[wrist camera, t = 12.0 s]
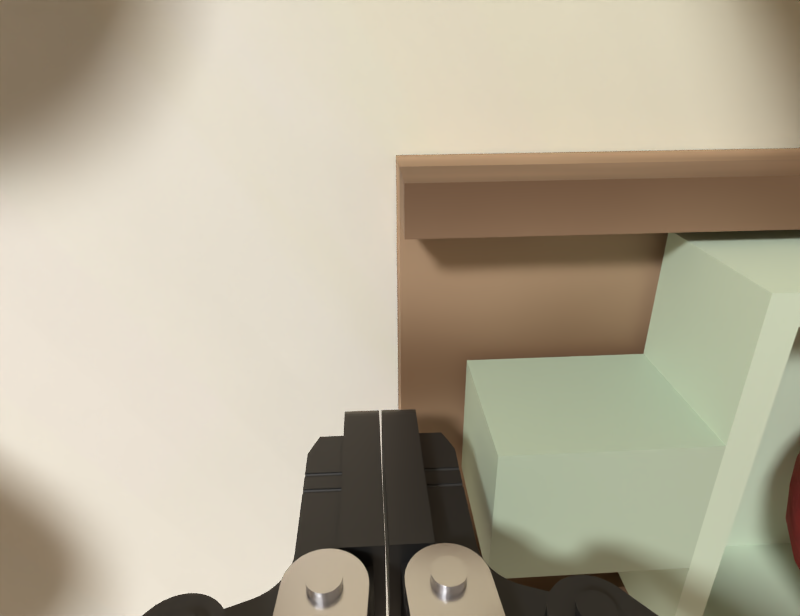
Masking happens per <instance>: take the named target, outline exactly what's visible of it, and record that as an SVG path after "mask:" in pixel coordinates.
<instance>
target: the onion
mask: <svg viewBox="0 0 800 616" xmlns="http://www.w3.org/2000/svg"><path fill="white" fill-rule="evenodd" d="M786 523H787V528H788V532H789V537H790V542H791V547H792V551H793V556H794V560H795V562H796V564H797V566H798V568H799V570H800V452H799V454H798V455H797V458H796V461H795V465H794V469H793V473H792V477H791V481H790V486H789V494H788V502H787V510H786Z"/></svg>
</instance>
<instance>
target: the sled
mask: <svg viewBox="0 0 800 616" xmlns="http://www.w3.org/2000/svg"><path fill="white" fill-rule="evenodd" d="M799 452H800V230H760V231H721V232H681V233H668V237H667V241H666V246H665V251H664V256H663V261H662V266H661V271H660V275H659V280H658V285H657V290H656V295H655V300H654V305H653V310H652V314H651V319H650V324H649V329H648V334H647V339H646V344H645V349H644V353H643V354H625V355H598V356H571V357H543V358H516V359H489V360H467V367H466V387H465V406H464V426H463V446H462V465H461V467H462V471H463V475H464V480H465V484H466V488H467V493H468V497H469V501H470V506H471V510H472V514H473V519H474V523H475V527H476V532H477V536H478V540H479V544H480V549H481V553H482V557H483V559H484V561H485V562H486V563H487V564H488V566H489V567H490V568H491V569H492V570H494V571H495V572H496V573H498V574H499V575H501V576H502V577H504V578H523V577H541V576H559V575H576V574H594V573H612V572H618V573H619V575H620V577H621V580H622V582H623V584H624V586H625V588H626V590H627V592H628V594H629V595H630V596H631V597H633V598H634V599H636V600H637V601H638V602H640V603H641V604H643V605H644V606H646V607H647V608H648V609H650V610H651V611H653V612H654V613H655V614H657V615H658V616H800V570H799V568H798V566H797V564H796V562H795V560H794V556H793V551H792V547H791V542H790V537H789V532H788V528H787V523H786V510H787V502H788V494H789V486H790V481H791V477H792V473H793V469H794V465H795V461H796V458H797V455H798V454H799Z"/></svg>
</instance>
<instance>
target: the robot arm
mask: <svg viewBox="0 0 800 616" xmlns="http://www.w3.org/2000/svg"><path fill="white" fill-rule="evenodd" d="M382 474H383V490H382ZM383 502H384V511H383ZM384 523H385V533H384ZM385 545H386V566H387V587H388V608H389V616H658V615H657V614H655V613H654V612H653V611H651V610H650V609H648V608H647V607H646V606H644V605H643V604H641V603H640V602H638V601H637V600H636V599H634V598H633V597H631V596H630V595H629V594H627V593H626V592H624V591H623V590H622V589H620V588H619V587H617V586H616V585H614V584H612V583H610V582H608V581H606V580H604V579H601V578H598V577H594V576H589V575H573V576H569V577H566V578H564V579H562V580H560V581H559V582H557V583H556V584H555V585H554V586H553V587H552V589H551V590H550V592H549V591H545V590H541V589H537V588H533V587H529V586H525V585H521V584H518V583H515V582H512V581H510V580H508V579H506V578H504V577H502V576H501V575H499V574H498V573H496V572H495V571H494V570H492V569H491V568H490V567H489V566H488V564H487V563H486V562H485V561H484V559H483V558H482V556H481V554H480V552H479V550H478V547H477V544H476V539H475V535H474V531H473V526H472V522H471V517H470V513H469V509H468V504H467V500H466V495H465V491H464V487H463V482H462V478H461V473H460V471H459V465H458V460H457V456H456V452H455V448H454V447H453V446H452V444H451V443H450V442H449V441H448V440H447V439H446V437H445V436H444V435H443V434H442V433H441V432H435V433H419V429H418V422H417V416H416V410H415V409H405V410H382V468H381V446H380V424H379V411H352V412H345V421H344V436H331V437H320V438H319V439H318V441H317V442H316V443H315V445H314V446H313V447H312V449H311V450H310V452H309V453H308V457H307V464H306V472H305V480H304V487H303V495H302V503H301V510H300V518H299V526H298V533H297V541H296V549H295V555H294V560H293V563H292V564H291V565H290V567H289V568H288V569H287V570H286V572H285V574H284V576H283V577H282V580H281V581H280V582H279V583H278V584H277V585H276V586H275V587H273V588H272V589H271V590H269V591H268V592H266V593H264V594H262V595H261V596H258V597H256V598H254V599H251V600H248V601H246V602H243V603H240V604H237V605H234V606H231V607H229V608H226V609H223V607H222V606H221V605H220V604H219V603H218V602H217V601H216V600H215V599H213V598H211V597H209V596H207V595H203V594H197V593H188V594H182V595H178V596H174V597H171V598H169V599H167V600H164V601H162V602H161V603H159V604H157V605H155V606H154V607H153V608H151V609H150V610H149V611H147V612H146V613H145V614H144V615H143V616H386V578H385Z"/></svg>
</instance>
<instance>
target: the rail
mask: <svg viewBox="0 0 800 616" xmlns="http://www.w3.org/2000/svg"><path fill="white" fill-rule="evenodd" d="M396 190H397V298H398V406H399V410H405V409H415V410H416V416H417V422H418V429H419V433H435V432H441V433H442V434H443V435H444V436H445V437H446V439H447V440H448V441H449V442H450V443H451V444H452V446H453V447H454V448H455V452H456V456H457V460H458V465H459V471H460V473H461V478H462V482H463V487H464V491H465V495H466V500H467V504H468V509H469V513H470V517H471V522H472V526H473V531H474V535H475V539H476V544H477V547H478V550H479V552H480V554H481V556H482V553H481V549H480V544H479V540H478V536H477V532H476V527H475V523H474V519H473V514H472V510H471V506H470V501H469V497H468V493H467V488H466V484H465V480H464V475H463V471H462V467H461V465H462V446H463V426H464V406H465V387H466V367H467V360H489V359H516V358H543V357H571V356H598V355H625V354H643V353H644V349H645V344H646V339H647V334H648V329H649V324H650V319H651V314H652V310H653V305H654V300H655V295H656V290H657V285H658V280H659V275H660V271H661V266H662V261H663V256H664V251H665V246H666V241H667V237H668V233H681V232H721V231H760V230H800V148H787V149H730V150H674V151H617V152H561V153H504V154H448V155H396ZM482 558H483V557H482ZM576 575H589V576H594V577H598V578H601V579H604V580H606V581H608V582H610V583H612V584H614V585H616V586H617V587H619V588H620V589H622V590H623V591H624V592H626V593H627V594H628V592H627V590H626V588H625V586H624V584H623V582H622V580H621V577H620V575H619V573H618V572H612V573H594V574H576ZM569 576H573V575H559V576H541V577H523V578H506V579H508V580H510V581H512V582H515V583H518V584H521V585H525V586H529V587H533V588H537V589H541V590H545V591H549V592H550V590H551V589H552V587H553V586H554V585H555V584H556V583H557V582H559V581H560V580H562V579H564V578H566V577H569Z"/></svg>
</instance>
